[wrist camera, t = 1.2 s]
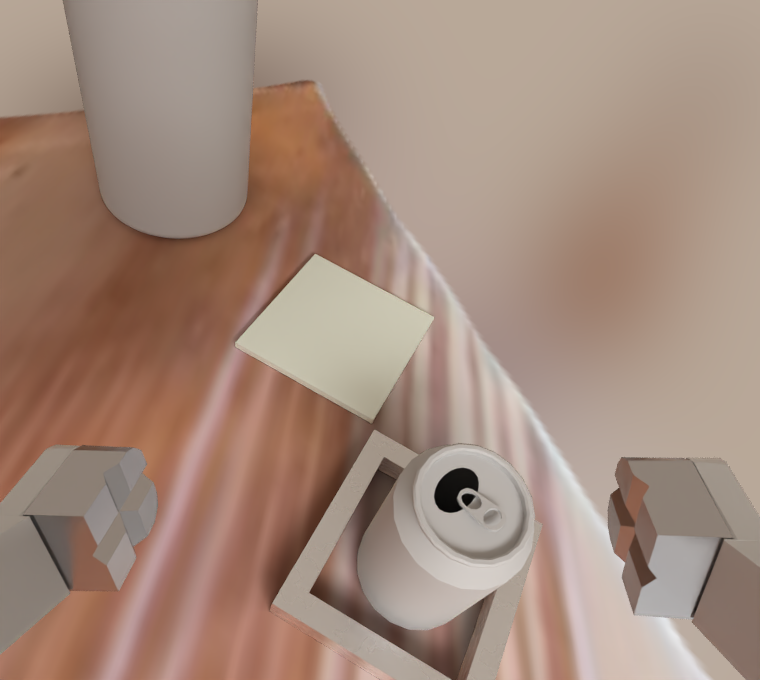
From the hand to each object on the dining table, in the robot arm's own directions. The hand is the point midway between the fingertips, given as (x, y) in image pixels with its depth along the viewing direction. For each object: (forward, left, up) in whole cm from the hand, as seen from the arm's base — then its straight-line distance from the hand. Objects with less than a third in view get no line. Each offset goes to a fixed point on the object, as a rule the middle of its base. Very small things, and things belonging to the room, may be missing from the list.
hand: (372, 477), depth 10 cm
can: (+5, +10, -28) cm, 30 cm away
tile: (-8, +24, -28) cm, 38 cm away
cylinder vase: (-28, +29, -28) cm, 49 cm away
